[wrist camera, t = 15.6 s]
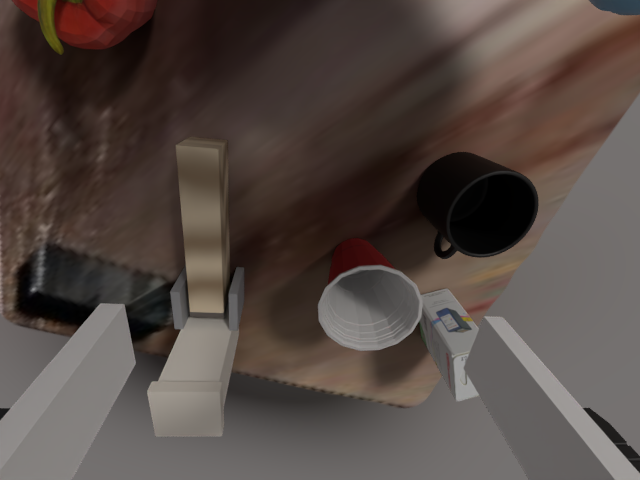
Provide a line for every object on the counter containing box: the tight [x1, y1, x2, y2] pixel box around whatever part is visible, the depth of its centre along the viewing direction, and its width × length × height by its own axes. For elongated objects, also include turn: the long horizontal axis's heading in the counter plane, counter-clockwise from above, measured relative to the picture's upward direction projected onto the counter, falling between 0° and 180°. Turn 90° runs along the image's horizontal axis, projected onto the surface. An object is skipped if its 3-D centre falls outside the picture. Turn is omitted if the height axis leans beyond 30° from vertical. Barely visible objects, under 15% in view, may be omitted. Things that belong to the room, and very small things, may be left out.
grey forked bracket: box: [147, 265, 244, 437], centre depth 39 cm, size 12×8×15 cm, turn 174°
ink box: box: [419, 289, 479, 401], centre depth 44 cm, size 9×5×12 cm, turn 14°
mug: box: [417, 152, 538, 259], centre depth 37 cm, size 9×12×9 cm
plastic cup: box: [318, 238, 423, 351], centre depth 39 cm, size 11×11×12 cm
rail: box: [176, 137, 230, 318], centre depth 38 cm, size 21×4×5 cm, turn 174°
